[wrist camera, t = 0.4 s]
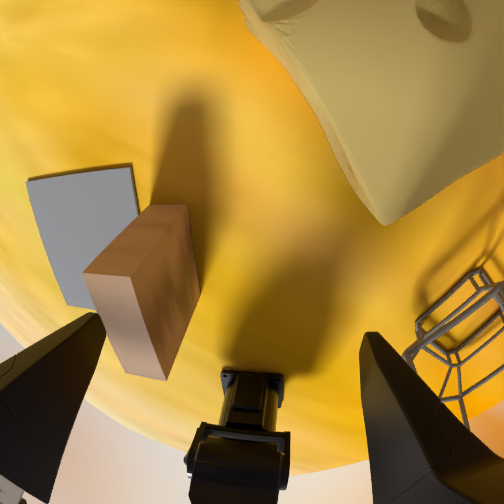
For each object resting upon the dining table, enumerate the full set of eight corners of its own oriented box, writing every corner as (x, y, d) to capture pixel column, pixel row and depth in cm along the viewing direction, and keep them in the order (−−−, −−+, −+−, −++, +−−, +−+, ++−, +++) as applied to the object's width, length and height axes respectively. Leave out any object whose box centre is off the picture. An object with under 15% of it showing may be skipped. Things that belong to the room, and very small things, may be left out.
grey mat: (164, 317, 27) (162, 319, 26) (68, 303, 28) (67, 305, 28) (131, 166, 20) (129, 167, 19) (27, 181, 21) (25, 182, 21)
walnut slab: (200, 294, 25) (166, 381, 17) (167, 292, 25) (125, 372, 17) (187, 203, 21) (130, 277, 13) (149, 204, 21) (81, 272, 13)
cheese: (248, 30, 14) (205, -26, 6) (389, -30, 10) (455, -95, 2) (337, 166, 18) (378, 239, 10) (466, 103, 14) (569, 132, 6)
